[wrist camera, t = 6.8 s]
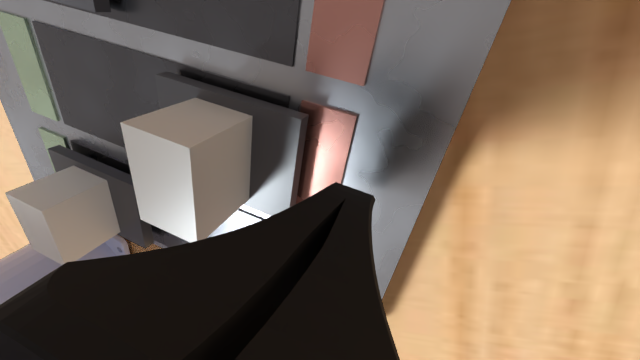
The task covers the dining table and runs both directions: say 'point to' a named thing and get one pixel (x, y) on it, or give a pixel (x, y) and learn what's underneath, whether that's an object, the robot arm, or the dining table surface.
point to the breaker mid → (211, 156)
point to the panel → (259, 85)
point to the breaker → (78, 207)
